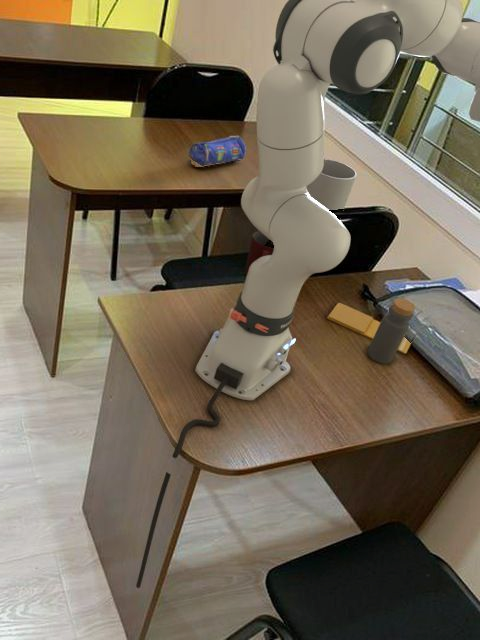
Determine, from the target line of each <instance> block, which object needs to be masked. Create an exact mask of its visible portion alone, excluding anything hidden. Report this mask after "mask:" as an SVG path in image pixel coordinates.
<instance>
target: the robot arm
mask: <svg viewBox="0 0 480 640" xmlns="http://www.w3.org/2000/svg"><path fill="white" fill-rule="evenodd" d="M463 16H464V5H463V2H462V0H287V2H286V3H285V5H284V6H283V8H281V12H280V13H279V16H278V19H277V22H276V28H275V41H274V44H273V47H272V53H273V56H274V58H275V61H276V63H277V65H275V66H273V67H271V68H270V69H269V70H268V71H266V72H265V73H264V75H263V76H262V78H261V80H260V82H259V86H258V94H257V103H256V114H255V116H256V117H255V118H256V121H255V123H256V125H255V126H256V140H257V141H256V142H257V154H258V155H257V157H258V158H257V160H258V172H257V176H255V177H254V178H252V179H251V180H250V181H249V182H248V184H247V185H246V186H245V187H244V190H243V192H242V195H241V198H240V206H241V209H242V211H243V213H244V214H245V216H246V217H247V218H248V220H249V222H250V223H251V225H253V227H254V228H255V229H256V230H257V231H258V230H259V231H260V232H261V233H263V234H264V235H265V236H266V237H267V238H268V239H269V240H271V241H272V242H273V245H274V251H273V254H272V255H267V256H263V257H260V258H259V259H257V260H256V261H254V262H253V263H252V264H251V266H250V267H249V270H248V274H247V275H246V276H245V277H246V278H245V281H244V284H243V288H242V291H240V293H239V295H238V297H237V299H236V302H235V303H234V307H232V308H230V311H229V315H228V317H227V319H226V320H225V323H224V324H223V326H222V327H221V328H219V329H218V330H215V331H214V332H213V334H212V336H211V338H210V340H209V342H208V343H207V345H206V347H205V349H204V351H203V352H202V355H201V357H200V358H199V361H198V362H197V364H196V366H195V369H194V371H195V373H196V375H198V376H199V378H201V380H203V381H204V382H205V383H207V384H208V385H210V386H211V387H213V388H214V389H216V390H215V391H214V393H213V395H212V396H211V398H210V399H209V401H208V404H207V410H208V413H209V414H210V416H212V418H213V419H214V420H206V419H201V418H200V419H199V418H197V419H193V420H191V421H189V422H188V423H186V425H184V426H183V428H182V430H181V432H180V435H179V439H178V441H177V444H176V447H175V449H174V451H173V452H172V458H173V459H177V458H178V457H179V455H180V452H181V450H182V449H183V445H184V443H185V439H186V437H187V433H188V432H189V430H190V429H191V428H192V427H194V426H196V425H201V426H208V427H216V426H218V425H219V424H220V422H221V419H220V415H218V414H217V413H216V411H215V410H214V408H213V406H214V403H215V402H216V401H217V399H218V397H219V396H220V394H221V393H224V394H226V395H228V396H230V397H232V398H233V397H234V398H235V399H239V400H243V401H254V400H256V399H257V398H258V397H260V396H261V395H263V393H265V392H266V391H268V390H269V389H270V388H271V387H273V386H274V385H275V384H277V383H278V382H279V381H280V380H282V379H283V378H285V377H286V376H287V375H288V374H289V373H290V372H291V365H290V364H289V362H288V361H287V358H288V355H289V351H290V348H291V346H292V345H293V344H295V342H296V340H297V339H296V338H293V336H292V334H291V330H290V325H291V323H292V321H293V319H294V313H295V306H296V303H297V301H298V297H299V295H300V292H301V290H302V287H303V285H304V284H305V282H306V281H307V280H308V279H309V278H310V277H311V276H312V275H314V274H317V273H318V274H319V273H324V272H328V271H331V270H332V269H334V268H336V267H337V266H338V265H339V264H341V262H343V260H344V259H345V258H346V256H347V254H348V252H349V250H350V247H351V240H352V239H351V234H350V232H349V230H348V229H347V227H346V226H345V224H343V222H342V221H341V219H340V220H339V219H338V218H337V216H336V215H335V214H334V213H332V212H331V211H329V210H328V209H327V208H325V207H324V206H323V205H321V204H320V203H319V202H317V201H316V200H315V199H313V198H312V197H311V196H310V194H309V193H308V191H307V188H306V186H307V185H309V184H311V183H312V182H313V181H314V180H315V179H316V178H317V177H318V176H319V175H320V173H321V171H322V169H323V166H324V159H325V111H324V110H325V109H324V104H325V99H326V95H327V92H328V90H329V87H330V86H331V85H333V86H334V87H335V88H337V89H338V90H340V91H343V92H346V93H350V94H355V95H365V94H368V93H371V92H372V91H374V90H376V89H377V88H378V87H379V86H380V85H382V84H383V83H384V82H385V81H387V80H388V78H389V77H390V75H391V74H392V73H393V70H394V68H395V66H396V64H397V61H398V59H399V57H400V53H404V54H406V55H407V54H408V55H411V56H415V57H423V58H429V57H431V59H432V61H433V63H434V65H435V67H436V69H437V70H438V71H439V72H441V73H443V74H446V75H450V76H454V77H457V78H459V79H461V80H464V81H466V82H468V83H471V84H474V85H475V86H474V95H473V97H472V99H471V103H470V106H469V109H468V116H469V118H470V120H472V121H475V122H479V123H480V22H479V21H477V20H474V19H472V18H469V17H463ZM170 478H171V473H169V472H168V471H166V472H165V475H164V478H163V480H162V484H161V487H160V491H159V494H158V497H157V501H156V505H155V508H154V512H153V515H152V519H151V522H150V523H151V524H150V527H149V530H148V535H147V540H146V543H145V547H144V551H143V557H142V561H141V565H140V569H139V573H138V577H137V580H136V585H135V587H136V588H137V589H140V588H141V585H142V582H143V578H144V574H145V570H146V566H147V563H148V558H149V553H150V550H151V546H152V542H153V538H154V534H155V530H156V525H157V523H158V518H159V514H160V511H161V508H162V504H163V501H164V499H165V494H166V491H167V488H168V484H169V482H170V480H171V479H170Z"/></svg>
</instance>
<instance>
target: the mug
mask: <svg viewBox="0 0 480 640" xmlns="http://www.w3.org/2000/svg"><path fill="white" fill-rule="evenodd" d="M268 240H269V239H268V238H267V237H266V236H265V235H264V234H263V233H261V232H260V231H259V230H258V229H257V230H255V231H254V232H253V233H252V235H251V239H250V243H249V249H248V255H247V258H246V259H247V260H246V265H245V270H244V271H245V276H247V274H248V270H249V267H250V266H251V264H252V263H253V262H254V261H256V260H257V259H259V258H260V257H263V256H267V255H272V254H273V251H274V248H271V247H267V246H264V245H265V244H266V242H267V241H268Z"/></svg>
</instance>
